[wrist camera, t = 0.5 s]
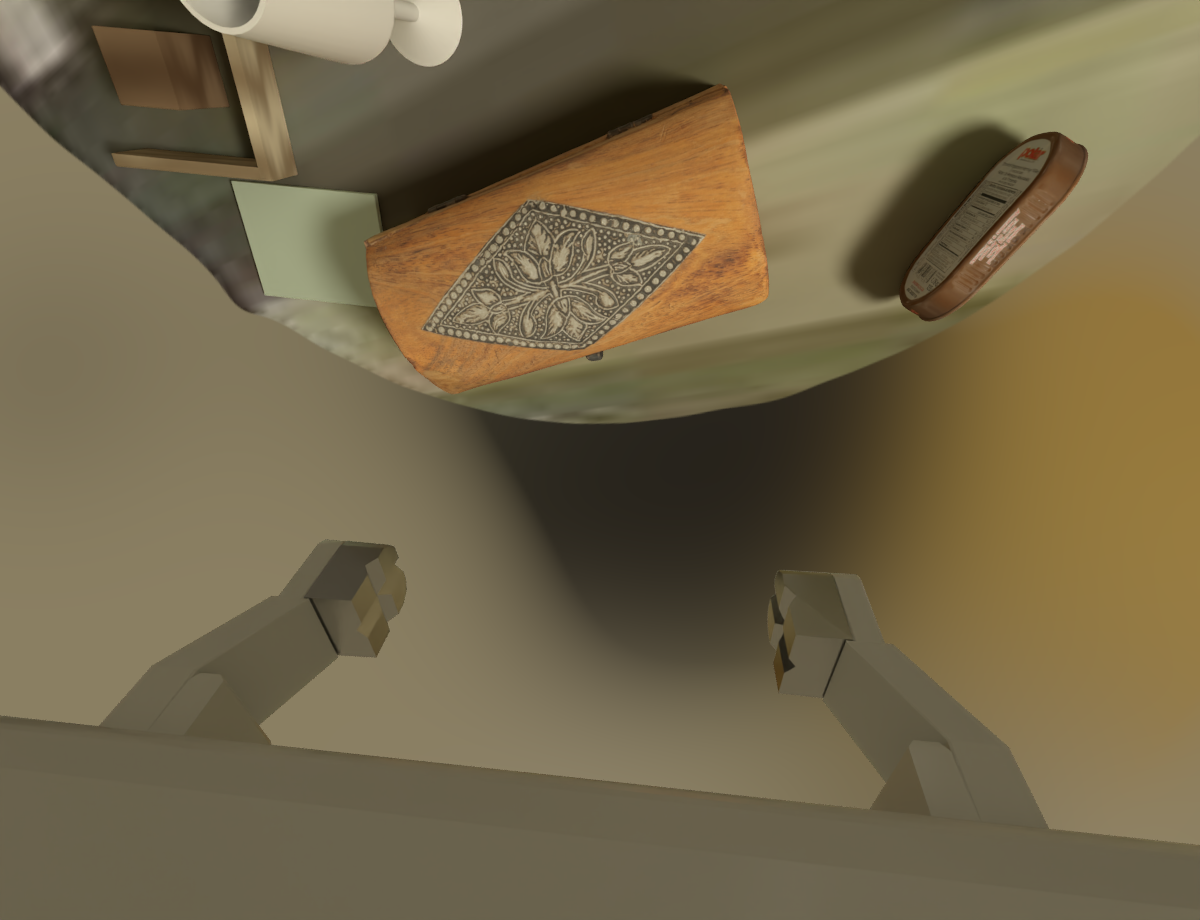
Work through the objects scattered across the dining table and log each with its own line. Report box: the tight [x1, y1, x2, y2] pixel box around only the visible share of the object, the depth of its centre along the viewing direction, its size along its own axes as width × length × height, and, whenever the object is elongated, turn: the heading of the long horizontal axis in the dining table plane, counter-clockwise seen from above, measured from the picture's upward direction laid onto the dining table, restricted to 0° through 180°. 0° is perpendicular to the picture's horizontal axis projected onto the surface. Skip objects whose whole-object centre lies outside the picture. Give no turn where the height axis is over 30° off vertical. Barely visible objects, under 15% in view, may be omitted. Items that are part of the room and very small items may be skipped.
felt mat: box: [231, 180, 383, 307], centre depth 54 cm, size 11×14×1 cm
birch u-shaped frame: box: [111, 33, 298, 181], centre depth 45 cm, size 15×14×4 cm
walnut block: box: [92, 26, 230, 110], centre depth 45 cm, size 5×5×6 cm
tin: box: [899, 132, 1088, 321], centre depth 44 cm, size 15×3×8 cm, turn 154°
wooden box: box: [364, 84, 769, 394], centre depth 46 cm, size 30×16×14 cm, turn 110°
